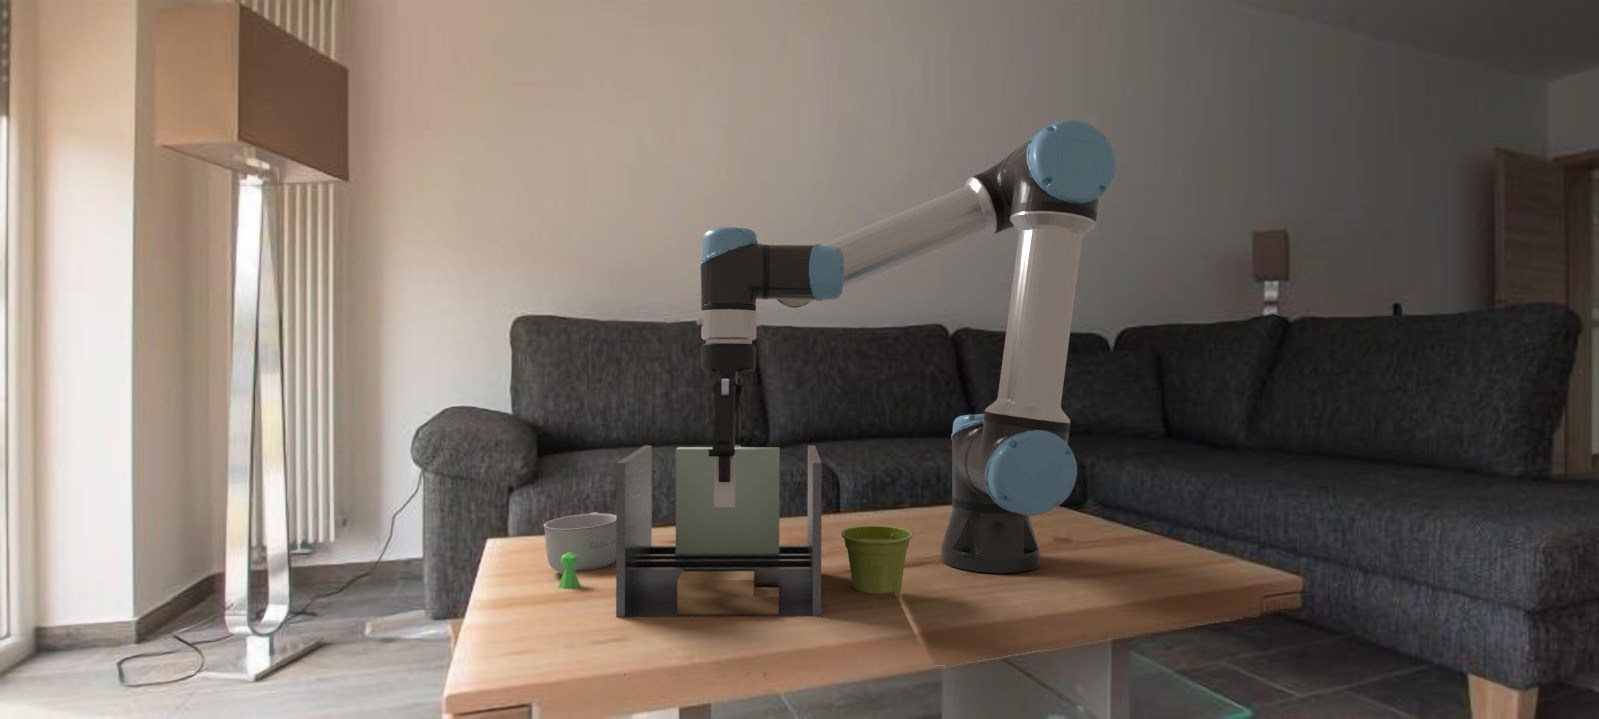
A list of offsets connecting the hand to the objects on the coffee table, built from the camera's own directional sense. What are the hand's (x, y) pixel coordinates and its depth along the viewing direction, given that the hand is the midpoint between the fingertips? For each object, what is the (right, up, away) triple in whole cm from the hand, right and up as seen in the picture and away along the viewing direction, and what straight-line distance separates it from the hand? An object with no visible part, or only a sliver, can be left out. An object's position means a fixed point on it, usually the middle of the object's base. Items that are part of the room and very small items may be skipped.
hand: (728, 498), depth 112 cm
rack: (0, -13, -6) cm, 14 cm away
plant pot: (+20, -13, -3) cm, 24 cm away
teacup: (-22, -13, +11) cm, 28 cm away
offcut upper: (0, -9, -13) cm, 16 cm away
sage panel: (0, -11, 0) cm, 11 cm away
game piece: (-21, -13, -3) cm, 25 cm away
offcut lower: (+1, -11, -13) cm, 17 cm away
